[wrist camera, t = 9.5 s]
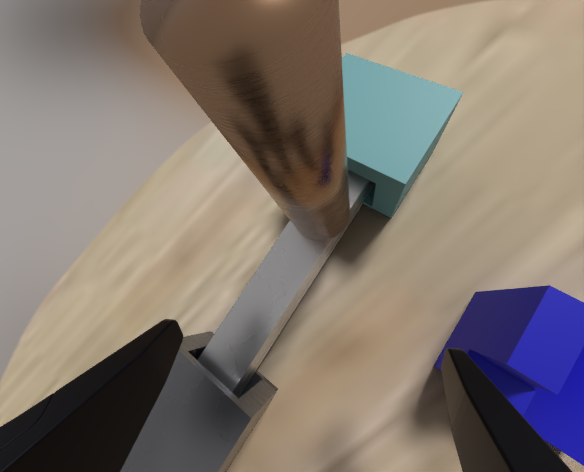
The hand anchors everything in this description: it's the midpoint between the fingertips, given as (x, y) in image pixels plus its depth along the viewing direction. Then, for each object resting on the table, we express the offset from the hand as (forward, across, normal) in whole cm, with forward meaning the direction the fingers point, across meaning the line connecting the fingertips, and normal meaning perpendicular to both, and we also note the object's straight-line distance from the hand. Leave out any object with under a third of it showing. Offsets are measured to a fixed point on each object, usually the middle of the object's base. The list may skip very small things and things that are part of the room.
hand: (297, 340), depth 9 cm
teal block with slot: (+12, -2, -2) cm, 13 cm away
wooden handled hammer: (+7, +2, +3) cm, 7 cm away
